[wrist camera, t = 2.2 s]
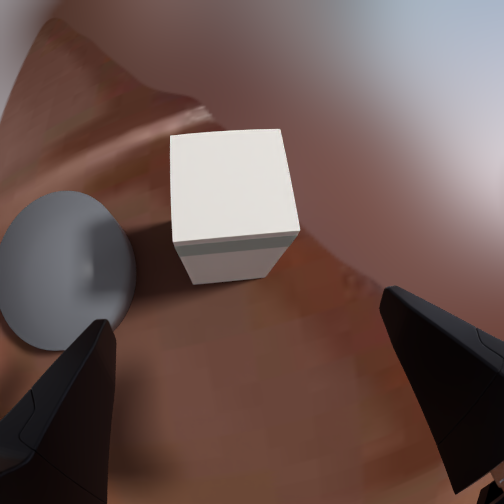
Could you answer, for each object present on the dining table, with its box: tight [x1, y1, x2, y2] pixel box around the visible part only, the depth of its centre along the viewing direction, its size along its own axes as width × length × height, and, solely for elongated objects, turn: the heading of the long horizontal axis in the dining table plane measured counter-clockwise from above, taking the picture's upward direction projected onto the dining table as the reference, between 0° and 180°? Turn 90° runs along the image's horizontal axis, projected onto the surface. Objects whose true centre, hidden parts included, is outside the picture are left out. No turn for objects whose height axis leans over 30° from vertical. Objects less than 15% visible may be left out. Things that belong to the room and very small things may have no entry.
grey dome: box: [0, 191, 136, 351], centre depth 19 cm, size 11×11×3 cm
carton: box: [170, 129, 300, 285], centre depth 18 cm, size 5×5×10 cm
